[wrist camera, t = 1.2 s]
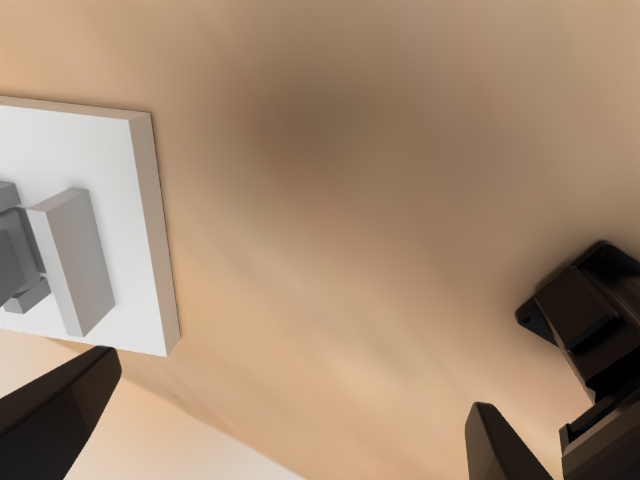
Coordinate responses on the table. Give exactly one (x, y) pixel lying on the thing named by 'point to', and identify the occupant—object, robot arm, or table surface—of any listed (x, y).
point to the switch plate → (88, 225)
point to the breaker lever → (15, 257)
